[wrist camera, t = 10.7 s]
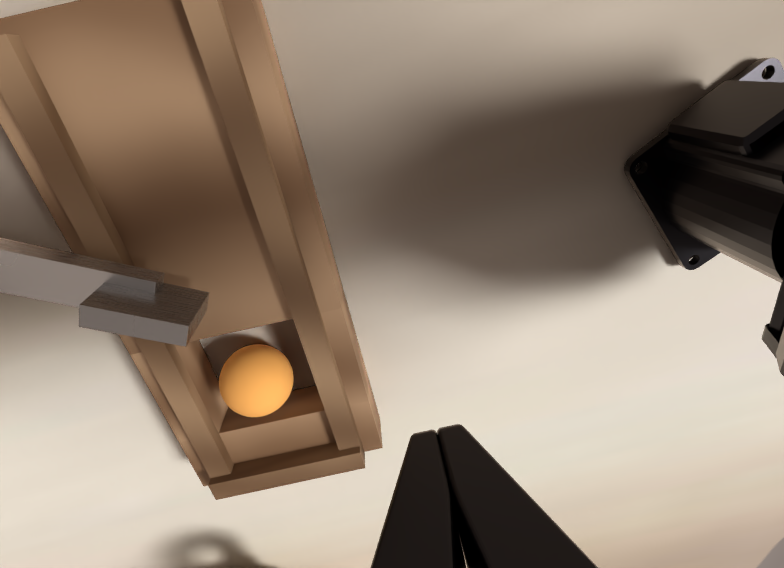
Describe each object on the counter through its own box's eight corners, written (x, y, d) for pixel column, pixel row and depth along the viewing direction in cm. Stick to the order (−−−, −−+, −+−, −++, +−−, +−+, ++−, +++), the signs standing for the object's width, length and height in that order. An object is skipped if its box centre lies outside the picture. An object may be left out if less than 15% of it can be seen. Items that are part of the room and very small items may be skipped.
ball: (314, 377, 22) (299, 389, 19) (264, 421, 22) (241, 442, 19) (270, 327, 22) (248, 332, 19) (220, 371, 22) (190, 383, 19)
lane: (-5, 34, 15) (-80, 28, 13) (253, -26, 15) (233, -45, 13) (214, 455, 24) (197, 503, 22) (379, 419, 24) (383, 463, 21)
